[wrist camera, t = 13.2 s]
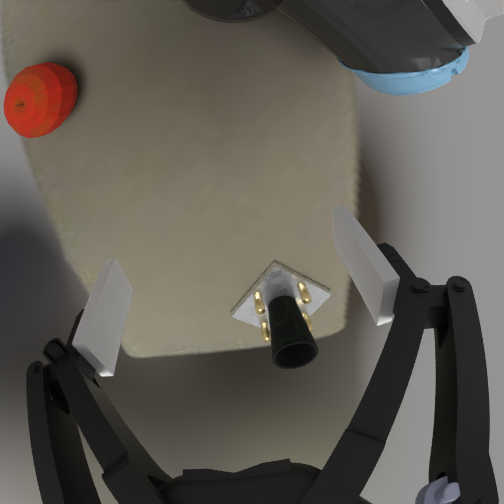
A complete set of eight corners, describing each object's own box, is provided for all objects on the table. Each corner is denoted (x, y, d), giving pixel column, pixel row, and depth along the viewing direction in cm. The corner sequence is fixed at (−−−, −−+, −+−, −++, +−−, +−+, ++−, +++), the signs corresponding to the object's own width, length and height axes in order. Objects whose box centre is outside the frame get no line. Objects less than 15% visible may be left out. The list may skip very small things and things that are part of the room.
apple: (25, 84, 28) (-21, 96, 18) (76, 48, 27) (33, 46, 18) (46, 138, 33) (4, 162, 24) (97, 106, 33) (59, 120, 23)
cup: (308, 307, 56) (325, 355, 47) (275, 325, 58) (286, 374, 48) (290, 284, 52) (306, 335, 43) (254, 304, 54) (263, 356, 44)
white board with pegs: (274, 260, 51) (280, 281, 46) (329, 289, 57) (338, 308, 52) (230, 311, 57) (232, 332, 52) (285, 332, 62) (290, 351, 58)
